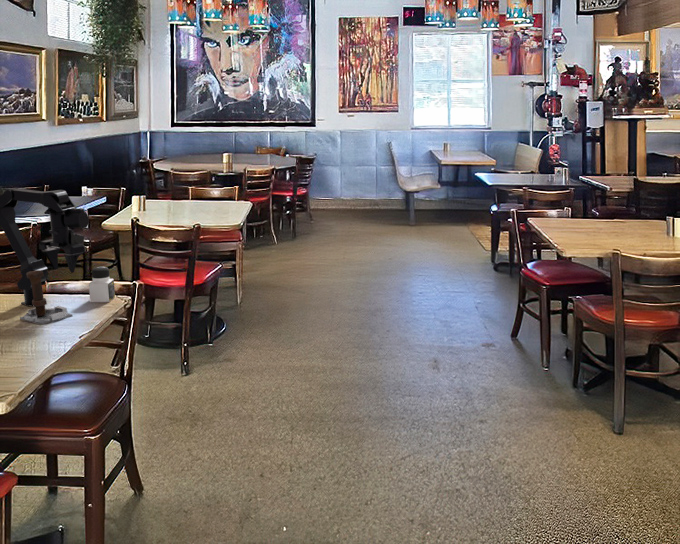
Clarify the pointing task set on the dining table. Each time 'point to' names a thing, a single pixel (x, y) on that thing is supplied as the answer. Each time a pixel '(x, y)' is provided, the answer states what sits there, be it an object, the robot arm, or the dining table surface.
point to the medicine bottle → (101, 285)
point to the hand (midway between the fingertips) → (64, 271)
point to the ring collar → (46, 315)
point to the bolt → (37, 292)
